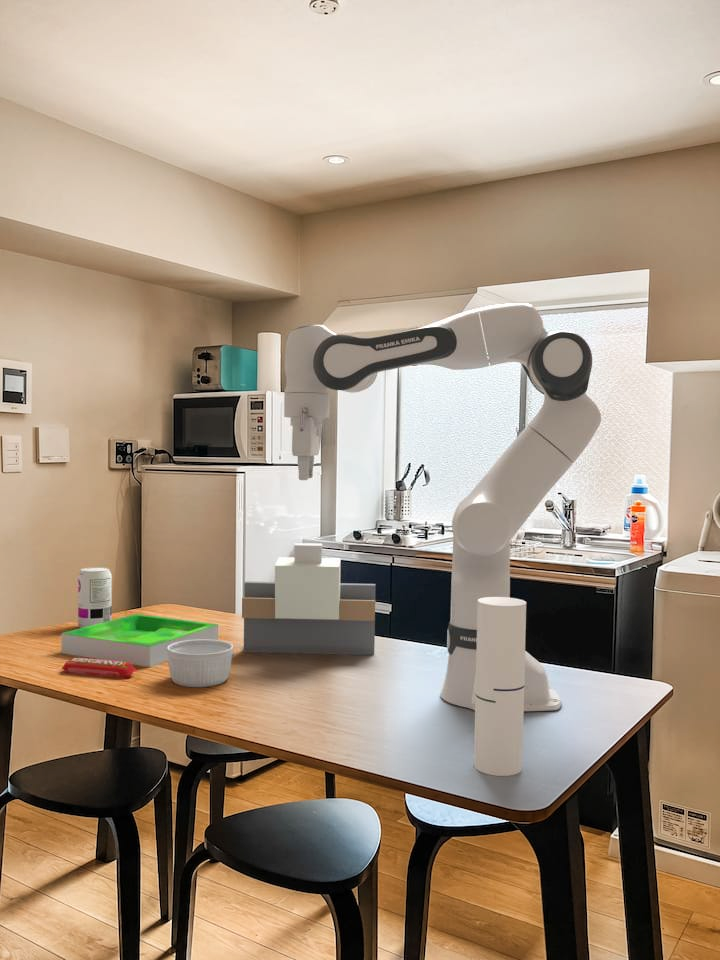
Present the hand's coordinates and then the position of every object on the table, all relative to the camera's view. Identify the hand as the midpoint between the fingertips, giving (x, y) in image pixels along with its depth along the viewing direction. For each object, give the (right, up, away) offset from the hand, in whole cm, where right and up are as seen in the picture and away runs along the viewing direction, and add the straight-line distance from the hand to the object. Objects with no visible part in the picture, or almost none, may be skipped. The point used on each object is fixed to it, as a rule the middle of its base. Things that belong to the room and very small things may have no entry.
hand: (305, 479), depth 164 cm
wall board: (-1, -40, +28) cm, 48 cm away
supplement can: (-57, -38, +50) cm, 85 cm away
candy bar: (-43, -41, +7) cm, 60 cm away
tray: (-40, -40, +29) cm, 64 cm away
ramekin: (-22, -41, +4) cm, 46 cm away
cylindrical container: (+31, -43, -39) cm, 66 cm away
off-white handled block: (-1, -30, +23) cm, 38 cm away
